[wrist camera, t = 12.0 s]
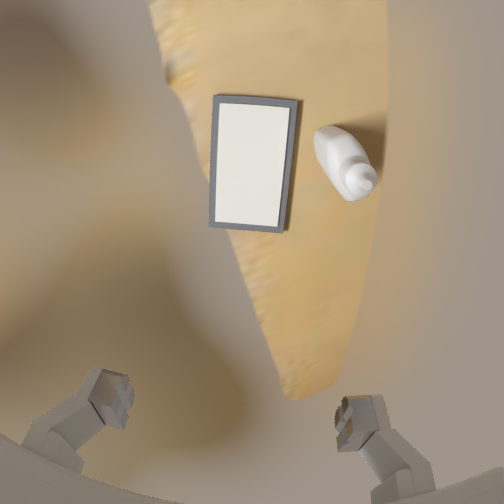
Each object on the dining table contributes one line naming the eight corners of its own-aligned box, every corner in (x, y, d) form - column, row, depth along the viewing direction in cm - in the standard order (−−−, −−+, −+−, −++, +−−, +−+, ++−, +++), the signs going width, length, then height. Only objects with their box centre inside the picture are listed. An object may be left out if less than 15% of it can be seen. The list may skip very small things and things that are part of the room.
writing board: (214, 95, 27) (213, 95, 26) (296, 100, 26) (297, 100, 26) (209, 224, 33) (209, 227, 33) (282, 231, 33) (283, 233, 33)
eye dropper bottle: (357, 129, 27) (405, 150, 17) (347, 181, 30) (386, 229, 19) (314, 121, 27) (342, 136, 17) (307, 175, 30) (327, 220, 19)
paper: (220, 103, 26) (219, 103, 26) (289, 107, 26) (289, 108, 26) (215, 220, 32) (215, 221, 32) (277, 226, 32) (277, 226, 32)
